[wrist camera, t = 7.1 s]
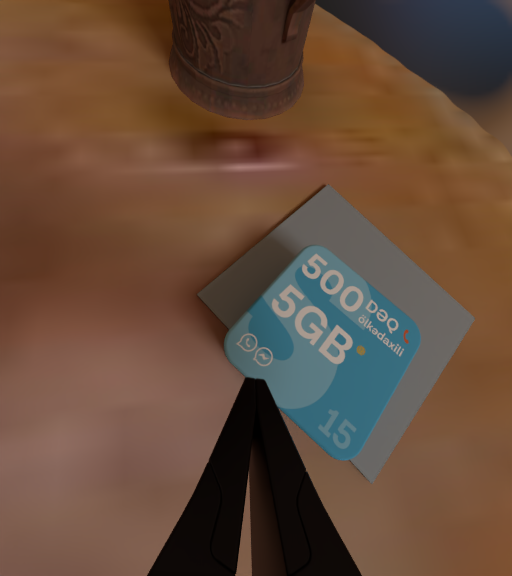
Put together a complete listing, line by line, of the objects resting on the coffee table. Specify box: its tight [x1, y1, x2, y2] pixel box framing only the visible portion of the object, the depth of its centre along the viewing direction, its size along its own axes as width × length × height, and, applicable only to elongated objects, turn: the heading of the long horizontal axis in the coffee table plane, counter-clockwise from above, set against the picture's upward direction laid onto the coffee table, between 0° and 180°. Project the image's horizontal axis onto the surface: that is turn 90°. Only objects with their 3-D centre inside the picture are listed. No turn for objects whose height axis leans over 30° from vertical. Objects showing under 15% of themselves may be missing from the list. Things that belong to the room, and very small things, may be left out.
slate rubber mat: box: [197, 184, 475, 484], centre depth 21 cm, size 22×20×1 cm
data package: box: [224, 245, 421, 460], centre depth 18 cm, size 12×4×12 cm
